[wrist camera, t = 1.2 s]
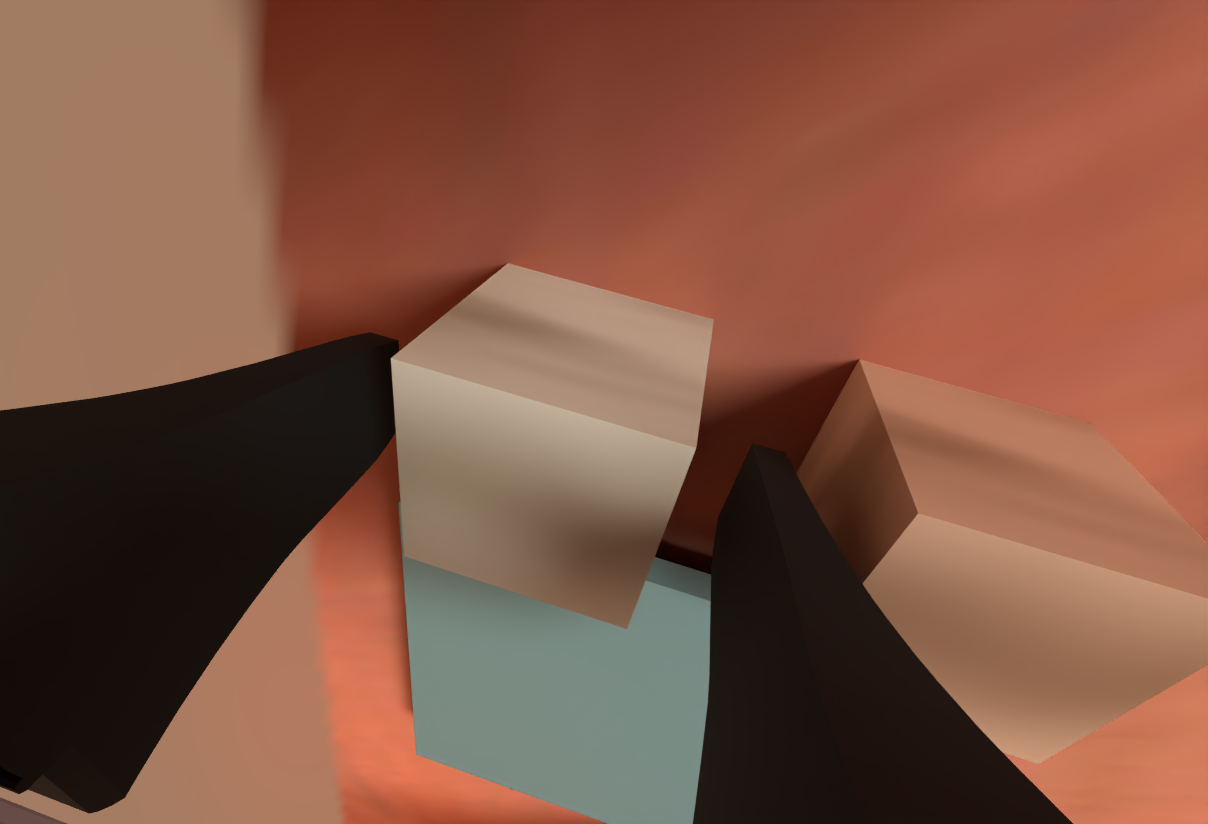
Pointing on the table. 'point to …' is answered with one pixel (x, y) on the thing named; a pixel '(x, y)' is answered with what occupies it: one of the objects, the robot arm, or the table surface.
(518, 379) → the cream block
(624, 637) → the teal board
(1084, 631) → the brown block
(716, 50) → the table surface
